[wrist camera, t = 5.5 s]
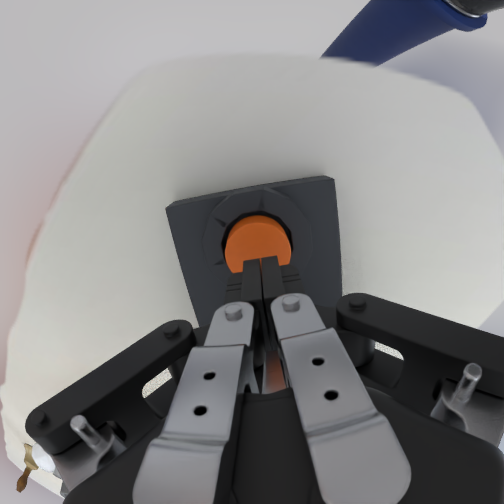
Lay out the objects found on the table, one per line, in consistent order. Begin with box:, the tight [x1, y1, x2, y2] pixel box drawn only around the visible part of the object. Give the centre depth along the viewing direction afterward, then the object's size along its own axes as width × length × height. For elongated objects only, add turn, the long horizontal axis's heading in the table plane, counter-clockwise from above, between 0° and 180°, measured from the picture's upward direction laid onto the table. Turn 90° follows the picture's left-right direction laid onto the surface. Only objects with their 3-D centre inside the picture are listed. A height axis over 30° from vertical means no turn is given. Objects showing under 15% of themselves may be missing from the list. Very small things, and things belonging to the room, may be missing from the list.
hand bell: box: [17, 444, 39, 492], centre depth 34 cm, size 8×8×16 cm
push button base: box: [165, 176, 342, 327], centre depth 20 cm, size 17×11×4 cm, turn 10°
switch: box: [225, 215, 291, 273], centre depth 16 cm, size 4×4×2 cm
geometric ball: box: [32, 443, 55, 472], centre depth 33 cm, size 8×8×8 cm
